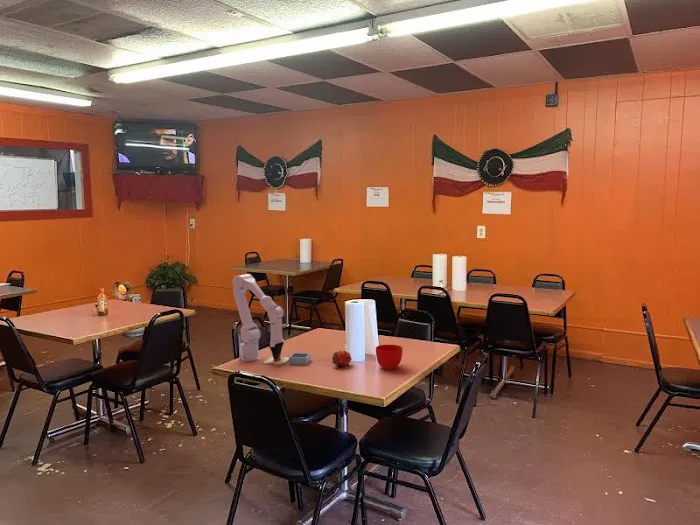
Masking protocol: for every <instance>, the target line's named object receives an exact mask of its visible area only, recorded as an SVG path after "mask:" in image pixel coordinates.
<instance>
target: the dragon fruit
mask: <svg viewBox="0 0 700 525" xmlns="http://www.w3.org/2000/svg"><path fill="white" fill-rule="evenodd" d="M331 358H332V361H331V363H332V364H334V366H337V367H338V368H340V367H344V368H345V367H347V366H349V365H350V363H351V361H352V357H351V354H350V352H347V350H339V351H335V352H334V353H333V354H332V357H331Z"/></svg>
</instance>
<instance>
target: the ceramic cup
mask: <svg viewBox="0 0 700 525" xmlns="http://www.w3.org/2000/svg"><path fill="white" fill-rule="evenodd" d="M375 356H376V361H377V362H378V365H379V366H380V368H382V369H383V370H385V369H386V371H393V370H396V369H397V367H398V366H399V365H400V363H401V361H402V358H403V346H401V345H398V344H380V345H377V346H375ZM395 368H396V369H395ZM392 369H393V370H392Z"/></svg>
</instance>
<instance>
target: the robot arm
mask: <svg viewBox="0 0 700 525" xmlns="http://www.w3.org/2000/svg"><path fill="white" fill-rule="evenodd" d="M231 284H232V287H233V288H232V294H233V297H234V301H235V304H236V307H237V311H238V315H239V318H240V320H241V321H240V322H241V324H242V326H241V327H240V330H239V331H240V339H241V341H242V342H241V343H239V345H238V346H239V349H238V350H239V357H238V359H239V360H241V361H242V362H248V361H256V360H262V359H261V357H259V341H260V340H259V339H260V338H261V336H262V333H261V330H260V329H259V328H258V325H257V324H256V323H255V322H254V321H253V318H252V314H251V311H250V307H249V304H248V301H247V297H246V294H245V293H246V291H247V290H250V291H251V292H252V294H254V296H256V297H257V299H258V300H259V304H260V305H261V306H262V308H263V309H264V310H265V311H266V313H267V316H268V319H269V322H270V323H269V324H270V325H269V326H270V342H269V346H268V348H269V349H270V351H271V355H272V357H273V359H278V355H279V353H280V356H281V355H282V350H283V346H284V344H285V339H283V320H282V319H283V317H284V314H285V311H284V309H283V307H282V306H278V304H276V302H275V301H274V300H273V299H272V296H269V295H266V294H265V293H264V292H263V290H262V289H261V288H260V286H259V285H258V283H256V278H254V276H253V275H252V274H251V273H245V274H241V275H234V277H233V279H232V281H231Z"/></svg>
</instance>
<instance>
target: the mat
mask: <svg viewBox="0 0 700 525" xmlns="http://www.w3.org/2000/svg"><path fill="white" fill-rule="evenodd" d="M267 359H268V358H266V359H265V360H267ZM262 365H263V366H264V365H265V366H278V365H277V364H263V362H261V363H260V366H262ZM287 365H289V361H288V362H287V363H286V364H285V365H284V366H287Z"/></svg>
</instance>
